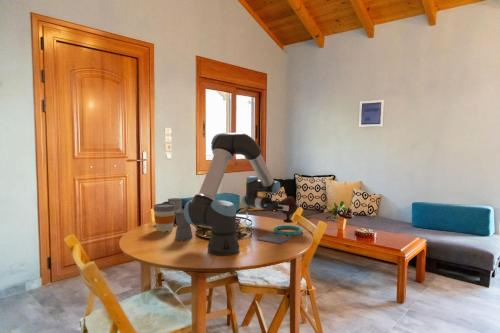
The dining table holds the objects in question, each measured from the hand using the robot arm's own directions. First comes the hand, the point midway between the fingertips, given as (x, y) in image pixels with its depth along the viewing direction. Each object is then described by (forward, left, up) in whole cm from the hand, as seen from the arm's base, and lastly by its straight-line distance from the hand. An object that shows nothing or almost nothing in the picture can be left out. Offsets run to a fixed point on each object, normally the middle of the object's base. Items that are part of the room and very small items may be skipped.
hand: (294, 207), depth 191 cm
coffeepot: (-41, +46, -15) cm, 63 cm away
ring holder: (0, +4, -15) cm, 15 cm away
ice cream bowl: (+1, +4, -9) cm, 10 cm away
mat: (-17, +4, -15) cm, 23 cm away
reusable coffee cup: (-35, +67, -15) cm, 77 cm away
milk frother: (-18, +75, -15) cm, 79 cm away
